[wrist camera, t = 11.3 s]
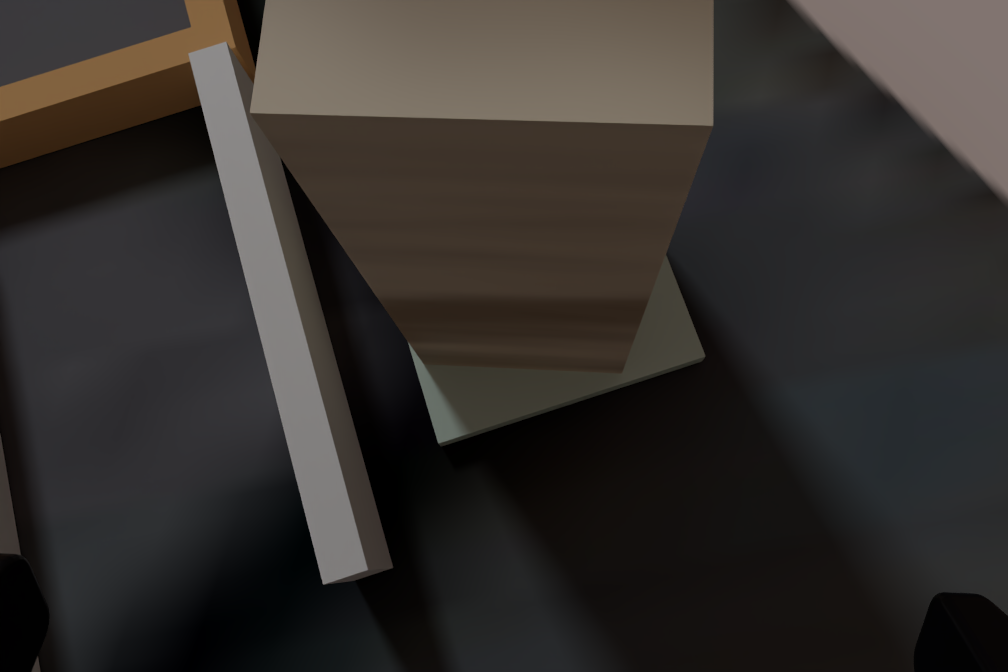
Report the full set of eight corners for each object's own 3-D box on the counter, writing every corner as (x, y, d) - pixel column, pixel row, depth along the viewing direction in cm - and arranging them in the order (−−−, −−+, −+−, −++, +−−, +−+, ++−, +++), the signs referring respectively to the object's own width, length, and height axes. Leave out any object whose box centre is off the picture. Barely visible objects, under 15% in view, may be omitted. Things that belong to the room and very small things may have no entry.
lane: (393, 568, 22) (368, 569, 19) (2, 695, 21) (-85, 718, 18) (264, 101, 25) (225, 41, 22) (-74, 208, 25) (-158, 162, 22)
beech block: (621, 373, 22) (713, 126, 9) (423, 364, 22) (249, 112, 10) (626, 187, 23) (713, -258, 10) (438, 181, 23) (302, -257, 11)
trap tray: (260, 86, 25) (235, 46, 23) (-77, 192, 25) (-130, 162, 23) (199, -133, 27) (172, -187, 25) (-113, -37, 27) (-165, -83, 25)
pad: (701, 361, 22) (705, 356, 22) (441, 446, 22) (438, 443, 22) (610, 126, 24) (611, 115, 23) (368, 204, 24) (363, 195, 23)
